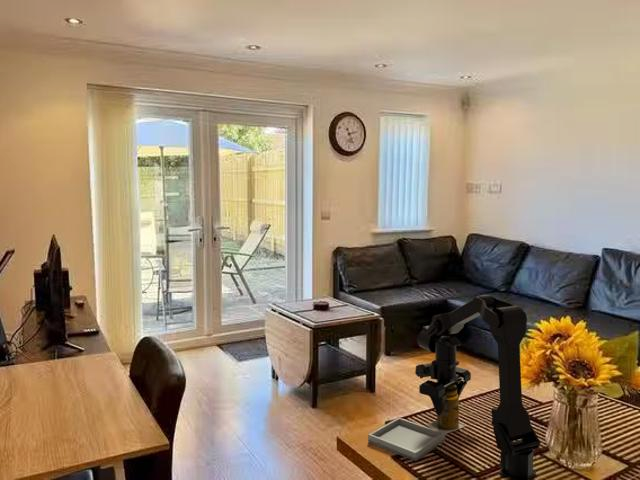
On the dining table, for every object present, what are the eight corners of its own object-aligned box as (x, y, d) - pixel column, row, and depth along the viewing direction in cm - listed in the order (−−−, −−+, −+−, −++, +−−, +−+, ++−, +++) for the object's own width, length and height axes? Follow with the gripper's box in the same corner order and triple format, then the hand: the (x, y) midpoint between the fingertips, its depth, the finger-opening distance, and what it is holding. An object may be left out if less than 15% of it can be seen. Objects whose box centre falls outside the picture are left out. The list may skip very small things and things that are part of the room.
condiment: (465, 426, 153) (465, 386, 152) (444, 435, 149) (443, 393, 147) (446, 417, 159) (445, 378, 158) (425, 425, 155) (424, 385, 153)
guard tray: (445, 441, 145) (445, 433, 145) (415, 461, 135) (415, 453, 135) (398, 424, 156) (398, 417, 155) (368, 442, 146) (368, 434, 145)
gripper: (438, 344, 164) (438, 393, 166) (402, 359, 151) (403, 413, 153) (471, 351, 157) (471, 403, 158) (437, 368, 143) (437, 424, 145)
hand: (445, 410), depth 154 cm, fingers open, 7 cm apart
